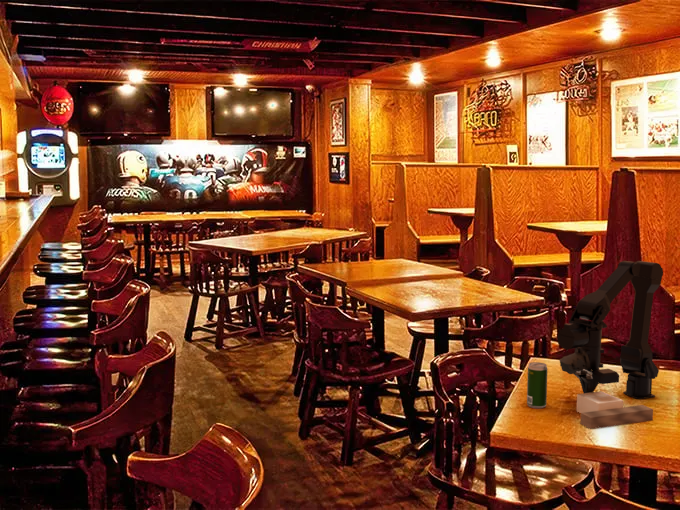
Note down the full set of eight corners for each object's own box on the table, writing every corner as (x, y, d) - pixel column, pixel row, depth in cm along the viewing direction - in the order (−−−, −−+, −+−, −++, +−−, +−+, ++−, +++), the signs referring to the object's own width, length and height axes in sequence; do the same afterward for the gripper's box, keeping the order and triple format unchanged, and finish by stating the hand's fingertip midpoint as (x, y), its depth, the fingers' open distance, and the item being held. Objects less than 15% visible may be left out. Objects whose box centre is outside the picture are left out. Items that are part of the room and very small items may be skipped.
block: (600, 408, 214) (601, 391, 214) (622, 418, 206) (623, 400, 205) (576, 411, 212) (577, 394, 211) (597, 421, 203) (598, 403, 203)
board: (642, 415, 208) (642, 404, 208) (652, 420, 204) (653, 409, 204) (580, 424, 202) (580, 412, 201) (590, 428, 198) (590, 417, 197)
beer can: (537, 410, 213) (538, 367, 212) (522, 405, 217) (523, 363, 216) (550, 406, 216) (551, 365, 215) (535, 401, 220) (537, 361, 219)
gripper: (545, 338, 218) (543, 391, 220) (587, 355, 201) (583, 412, 203) (578, 336, 222) (575, 388, 224) (622, 352, 204) (618, 408, 206)
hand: (587, 399), depth 214 cm, fingers closed
